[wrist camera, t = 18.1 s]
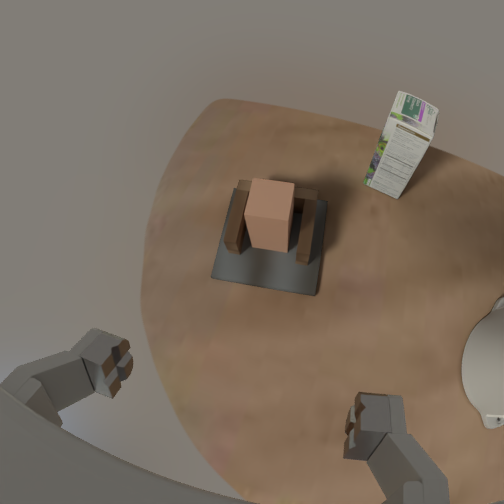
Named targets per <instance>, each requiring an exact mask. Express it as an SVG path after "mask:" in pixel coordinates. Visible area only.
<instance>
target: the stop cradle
mask: <svg viewBox="0 0 504 504" xmlns="http://www.w3.org/2000/svg"><path fill="white" fill-rule="evenodd" d="M251 184H252V181H248V180H239V182H238V186H237V188H234V190H233V194H232V197H231V201H230V205H229V209H228V212H227V216H226V220H225V224H224V228H223V231H222V235H221V239H220V243H219V247H218V251H217V255H216V259H215V263H214V267H213V271H212V275H211V278H213V279H219V280H224V281H230V282H235V283H241V284H246V285H252V286H258V287H263V288H269V289H275V290H281V291H287V292H293V293H299V294H305V295H311V296H315V292H316V286H317V279H318V272H319V265H320V258H321V251H322V243H323V236H324V228H325V219H326V211H327V202H328V201H323V200H317V198H318V190H314V189H307V188H300V187H294V209H293V223H292V229H291V235H290V241H289V246H288V252H287V253H286V252H279V251H273V250H267V249H261V248H254V247H252V244H251V240H250V236H249V232H248V228H247V224H246V220H245V216H244V213H245V209H246V204H247V200H248V196H249V192H250V188H251Z"/></svg>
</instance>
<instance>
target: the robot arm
mask: <svg viewBox="0 0 504 504" xmlns="http://www.w3.org/2000/svg"><path fill="white" fill-rule="evenodd" d="M129 349H130V344H129V341H128V340H126V339H123V338H121V337H118V336H116V335H113V334H110V333H108V332H105V331H102V330H99V329H97V328H93V329H91V330H90V331H89V332H88V333H87V334H86V335H85V336H84V337H83V338H82V339H81V340H80V341H79V342H78V343H77V344H76V345H75V346H74V347H73V348H72V349H71V350H70V351H69V352H68V351H63V352H61V353H58V354H55V355H52V356H48V357H45V358H42V359H39V360H36V361H33V362H31V363H27V364H24V365H21V366H18V367H17V368H16V369H15V370H14V371H13V372H12V373H11V374H10V375H9V376H8V377H7V378H6V379H5V380H4V381H3V382H2V383H1V384H0V504H258V503H253V502H248V501H244V500H240V499H235V498H231V497H227V496H223V495H220V494H216V493H212V492H209V491H205V490H202V489H199V488H195V487H192V486H189V485H186V484H183V483H180V482H177V481H174V480H171V479H168V478H166V477H163V476H160V475H158V474H155V473H153V472H150V471H148V470H145V469H143V468H140V467H138V466H135V465H133V464H131V463H129V462H127V461H124V460H122V459H120V458H118V457H116V456H113V455H111V454H109V453H107V452H105V451H103V450H101V449H99V448H97V447H95V446H93V445H91V444H89V443H87V442H85V441H84V440H82V439H80V438H78V437H76V436H74V435H73V434H71V433H69V432H68V431H66V430H64V429H62V428H61V425H62V424H63V423H62V420H61V418H60V416H59V415H58V413H57V412H58V411H60V410H62V409H64V408H66V407H68V406H70V405H72V404H74V403H75V402H77V401H79V400H81V399H83V398H85V397H87V396H89V395H91V394H93V393H94V391H95V392H97V393H99V394H102V395H105V396H107V397H109V398H112V399H113V398H114V396H115V395H116V393H117V392H118V391H119V389H120V388H121V381H123V380H126V379H127V378H128V377H129V375H130V374H131V371H132V368H133V357H132V355H131V354H130V353H129V352H128V350H129ZM462 381H463V386H464V390H465V392H466V395H467V397H468V399H469V401H470V402H471V403H472V405H473V406H474V407H475V408H476V409H477V410H478V411H479V412H480V414H481V417H482V420H483V423H484V426H485V427H486V428H488V429H493V428H496V427H499V426H502V425H504V297H502V298H499V299H498V300H497V301H496V303H495V305H494V307H493V309H492V311H491V312H490V314H488V315H487V316H486V317H485V318H483V319H482V320H481V321H480V322H479V323H478V324H477V325H476V326H475V328H474V329H473V331H472V332H471V334H470V336H469V338H468V340H467V343H466V346H465V349H464V353H463V359H462ZM498 417H499V419H498V420H497V418H498ZM345 433H346V434H347V436H348V437H347V439H346V440H345V442H344V455H343V458H344V459H353V460H363V461H367V464H368V466H369V467H370V469H371V471H372V473H373V475H374V476H375V478H376V480H377V482H378V484H379V485H380V487H381V489H382V491H383V493H384V494H385V496H386V498H387V500H386V501H384V502H383V503H382V504H450V501H449V489H448V480H447V478H446V476H445V475H444V474H443V473H442V471H441V470H440V469H439V468H438V467H437V465H436V464H435V463H434V462H433V461H432V459H431V458H430V457H429V456H428V454H427V453H426V452H425V451H424V450H423V448H422V447H421V446H420V445H419V444H418V442H417V441H416V440H415V439H414V438H413V436H412V435H411V434H407V431H406V422H405V413H404V405H403V398H402V397H401V396H397V395H386V394H376V393H365V392H358V394H357V395H356V397H355V405H354V406H352V407H351V408H350V410H349V412H348V416H347V419H346V425H345ZM489 504H504V500H502V501H498V502H494V503H489Z"/></svg>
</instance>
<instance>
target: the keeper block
mask: <svg viewBox="0 0 504 504" xmlns="http://www.w3.org/2000/svg"><path fill="white" fill-rule="evenodd" d="M294 187H295V183H288V182H281V181H273V180H266V179H258V178H253V180H252V184H251V188H250V192H249V196H248V200H247V204H246V209H245V213H244V216H245V220H246V224H247V228H248V232H249V236H250V240H251V244H252V247H254V248H261V249H267V250H273V251H279V252H286V253H287V252H288V246H289V241H290V235H291V229H292V223H293V209H294Z"/></svg>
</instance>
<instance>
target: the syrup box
mask: <svg viewBox="0 0 504 504" xmlns="http://www.w3.org/2000/svg"><path fill="white" fill-rule="evenodd" d="M438 115H439V110H438V109H437V108H436V107H434V106H432V105H431V104H429V103H427V102H425V101H423V100H422V99H419V98H417V97H415V96H413V95H410V94H408V93H405V92H401V91H398V93H397V96H396V99H395V101H394V104H393V107H392V109H391V112H390V114H389V116H388V119H387V121H386V124H385V126H384V129H383V131H382V134H381V136H380V139H379V142H378V145H377V147H376V150H375V153H374V156H373V159H372V161H371V164H370V166H369V169H368V172H367V174H366V177H365V180H364V182H363V183H364V184H365V185H367V186H369V187H372V188H374V189H376V190H378V191H380V192H383V193H385V194H387V195H389V196H391V197H394V198H396V199H398V198H399V197H400V195H401V193H402V192H403V190H404V189H405V187H406V185H407V184H408V182H409V180H410V178H411V177H412V175H413V173H414V171H415V170H416V168H417V166H418V165H419V163H420V161H421V159H422V158H423V156H424V154H425V152H426V150H427V149H428V147H429V145H430V143H431V141H432V139H433V137H434V133H435V129H436V126H437V121H438Z"/></svg>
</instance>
